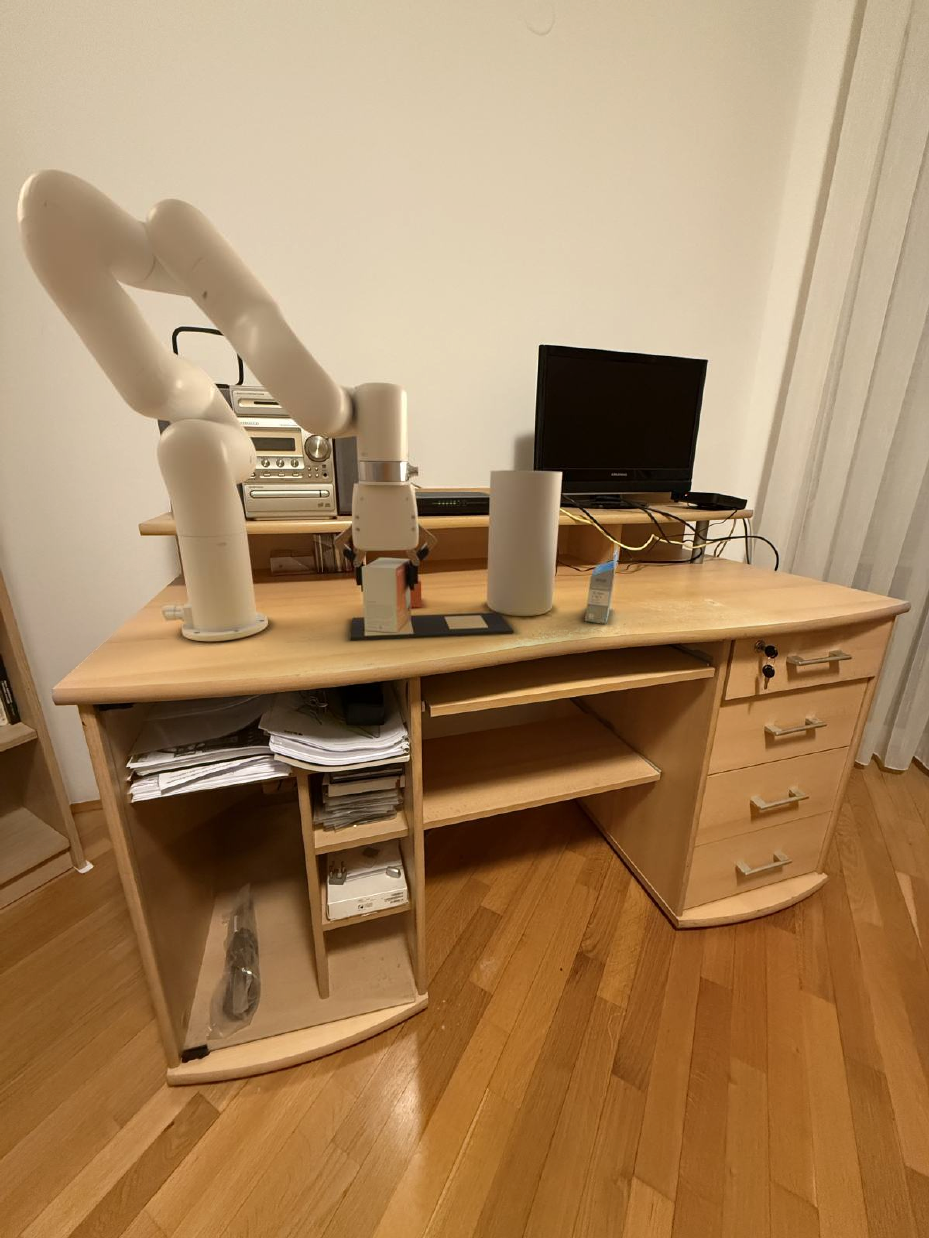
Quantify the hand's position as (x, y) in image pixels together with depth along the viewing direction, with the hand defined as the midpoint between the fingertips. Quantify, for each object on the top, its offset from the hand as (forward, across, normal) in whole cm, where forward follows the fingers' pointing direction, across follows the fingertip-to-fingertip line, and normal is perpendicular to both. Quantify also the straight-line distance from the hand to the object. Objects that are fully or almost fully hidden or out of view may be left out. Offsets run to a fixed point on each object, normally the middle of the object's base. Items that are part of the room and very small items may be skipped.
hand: (387, 588), depth 79 cm
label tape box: (+7, -38, -2) cm, 39 cm away
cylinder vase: (+7, -25, -9) cm, 27 cm away
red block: (+7, -4, -14) cm, 16 cm away
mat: (+7, -7, 0) cm, 10 cm away
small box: (+6, 0, 0) cm, 6 cm away
